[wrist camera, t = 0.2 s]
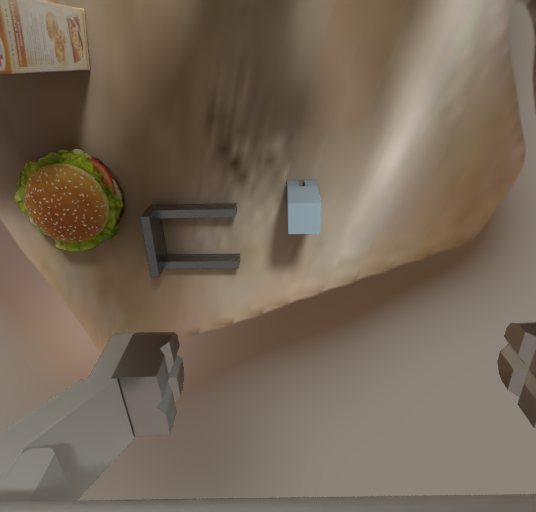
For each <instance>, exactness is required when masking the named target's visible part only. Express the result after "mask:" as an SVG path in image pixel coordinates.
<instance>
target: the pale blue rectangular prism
mask: <svg viewBox="0 0 536 512" xmlns="http://www.w3.org/2000/svg"><path fill="white" fill-rule="evenodd" d="M287 205H288V234H321V208H322V202H321V198H320V195H319V191H318V187H317V183H316V180H304V186H299V180H287Z"/></svg>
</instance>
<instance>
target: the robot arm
mask: <svg viewBox="0 0 536 512" xmlns="http://www.w3.org/2000/svg"><path fill="white" fill-rule="evenodd" d="M504 337H505V339H506V340H507V342H508V344H507V345H506V346H505V347H504V348H503V349H502V350H501V351H500V353H499V358H498V370H499V374H500V377H501V380H502V382H503V383H504V385H505V386H506V388H507V389H508V390H509V391H511V392H512V393H514V394H516V395H517V396H519V401H518V406H519V407H520V408H521V410H522V411H523V413H524V414H525V416H526V417H527V419H528V420H529V421H530V423H531V424H532V426H533V427H534V428H536V322H525V323H510V324H509V326H508V327H507V328H506V332H505V335H504ZM178 349H179V341H178V336H177V334H176V333H175V332H140V333H116V334H114V335H112V337H111V338H110V340H109V342H108V344H107V345H106V347H105V349H104V351H103V352H102V354H101V356H100V357H99V359H98V361H97V363H96V365H95V366H94V368H93V370H92V371H91V373H90V375H89V377H88V378H87V379H81V380H79V381H78V382H76V383H75V384H73V385H72V386H71V387H69V388H67V389H66V390H65V391H63V392H61V393H60V394H58V395H57V396H55V397H54V398H52V399H51V400H49V401H48V402H46V403H45V404H43V405H42V406H40V407H39V408H37V409H36V410H34V411H33V412H31V413H30V414H28V415H27V416H25V417H24V418H22V419H21V420H19V421H18V422H16V423H15V424H13V425H12V426H10V427H9V428H7V429H6V430H4V431H3V432H1V433H0V512H536V494H508V495H507V494H506V495H505V494H504V495H433V496H369V497H368V496H363V497H297V498H296V497H291V498H226V499H225V498H221V499H150V500H84V501H83V500H81V501H77V500H78V499H79V498H80V497H81V496H82V495H83V493H84V492H85V491H86V490H87V489H88V488H89V487H90V486H91V485H92V484H93V483H94V482H95V481H96V479H97V478H98V477H99V476H100V475H101V474H102V473H103V472H104V471H105V470H106V469H107V468H108V467H109V466H110V464H111V463H112V462H113V461H114V460H115V459H116V458H117V457H118V456H119V455H120V454H121V453H122V451H123V450H124V449H125V448H126V447H127V446H128V445H129V444H130V443H131V442H132V441H133V440H134V437H139V436H159V435H170V434H171V430H172V427H173V423H174V419H175V416H176V407H175V402H176V401H177V400H178V399H179V398H180V397H181V394H182V389H183V381H184V367H183V361H182V359H181V358H180V357H179V356H178V355H177V352H178Z"/></svg>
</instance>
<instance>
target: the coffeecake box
mask: <svg viewBox="0 0 536 512" xmlns="http://www.w3.org/2000/svg"><path fill="white" fill-rule="evenodd" d="M72 70H90V63H89V54H88V43H87V31H86V21H85V11H84V9H82V8H75V7H70V6H66V5H62V4H58V3H55V2H51V1H47V0H0V74H15V73H32V72H52V71H72Z"/></svg>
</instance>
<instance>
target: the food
mask: <svg viewBox="0 0 536 512" xmlns="http://www.w3.org/2000/svg"><path fill="white" fill-rule="evenodd" d="M17 187H18V188H19V189H18V191H17V192H16V193H15V196H14V199H15V202H16V203H17V205H18V207H19V208H20V210H21V211H22V212H23V213H25V214H26V215H27V216H28V217H29V219H30V222H31V223H32V225H35V226H36V227H37V229H38V230H39V231H40V232H41V233H43V234H45V235H47V236H51V237H53V238H54V240H55V243H56V247H57V248H59V249H63V250H68V251H82V250H86V249H91V248H94V247H95V246H97V245H98V243H99V242H101V241H102V240H104V239H110V238H112V237H113V236H115V235H116V234H117V230H118V228H117V224H118V223H119V221H120V219H121V217H122V215H123V213H124V198H123V192H122V189H121V187H120V185H119V182H118V179H117V178H116V177H115V176H114V174H113V173H112V172H111V171H110V169H109V168H108V167H107V166H105V165H104V164H103V163H102V162H101V161H100V160H99V159H97V158H94V157H91V156H89V155H88V154H87V153H85V152H84V151H82V150H80V149H74V150H72V151H71V152H70V151H66V150H58V151H57V153H55V152H51V153H49V154H48V155H46V156H45V157H42V158H40V159H39V160H38V162H37V163H35V162H32V161H29V162H27V163H26V164H25V166H24V170H23V172H22V173H21V176H20V180H19V181H18V182H17Z"/></svg>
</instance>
